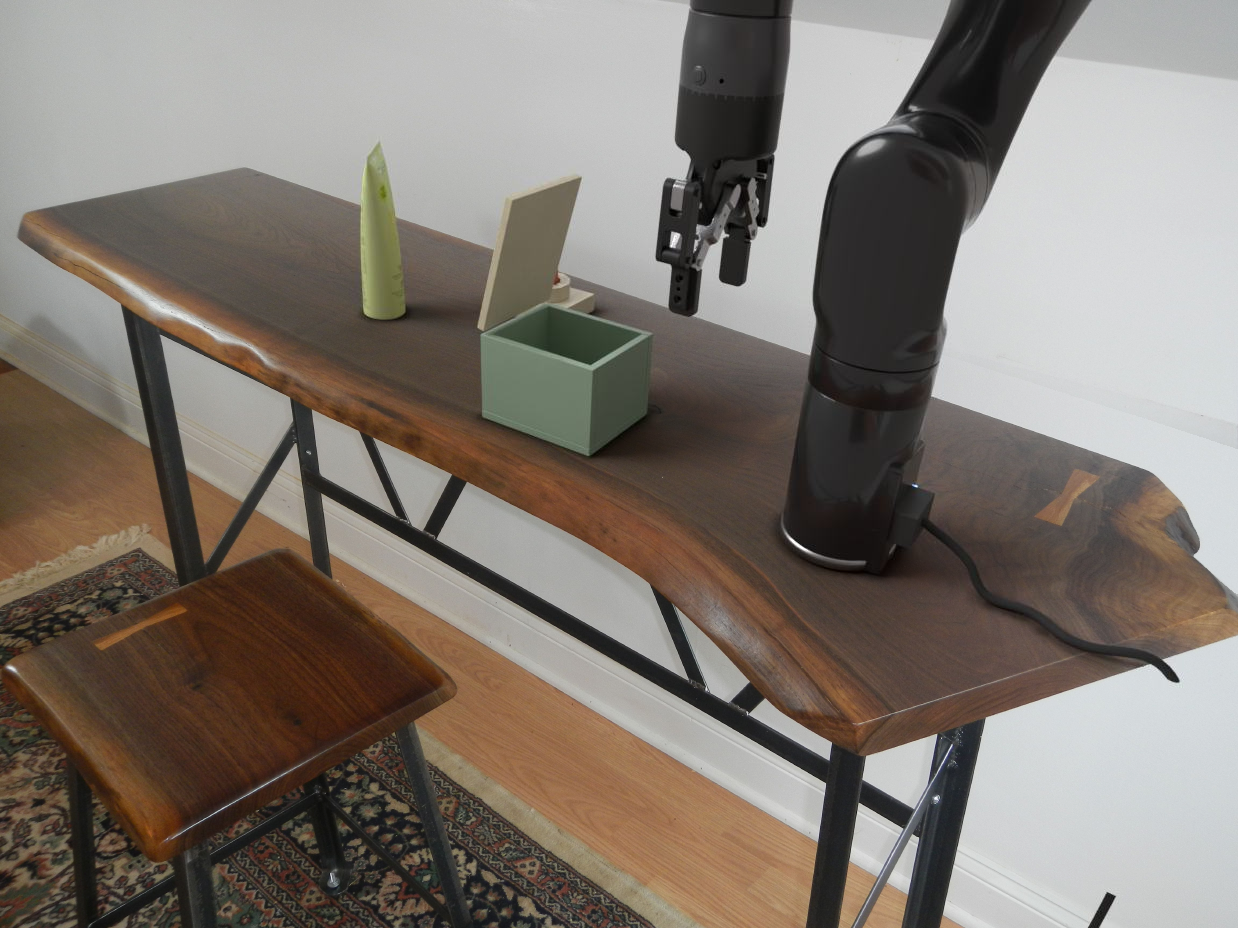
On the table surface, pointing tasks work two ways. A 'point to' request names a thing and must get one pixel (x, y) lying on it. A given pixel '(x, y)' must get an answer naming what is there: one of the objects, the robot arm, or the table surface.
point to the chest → (565, 376)
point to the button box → (569, 297)
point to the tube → (380, 243)
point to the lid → (528, 249)
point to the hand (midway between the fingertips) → (708, 298)
